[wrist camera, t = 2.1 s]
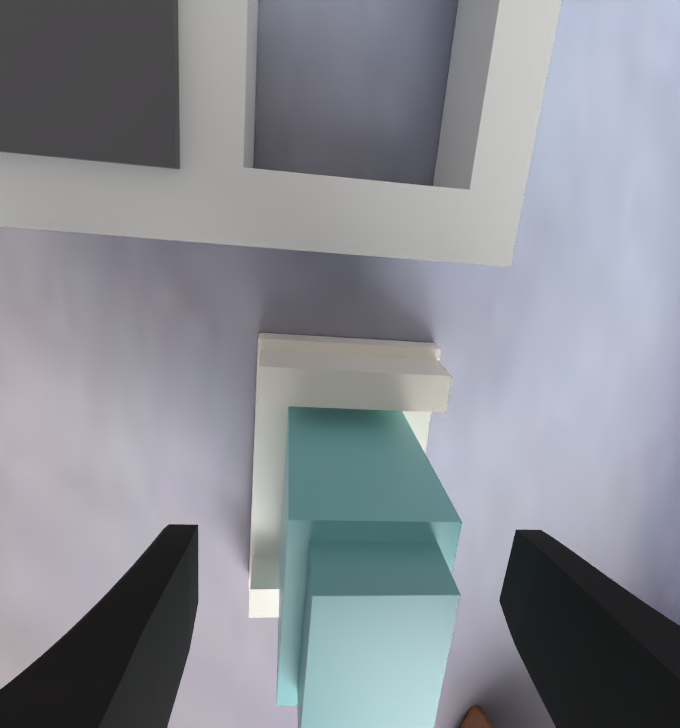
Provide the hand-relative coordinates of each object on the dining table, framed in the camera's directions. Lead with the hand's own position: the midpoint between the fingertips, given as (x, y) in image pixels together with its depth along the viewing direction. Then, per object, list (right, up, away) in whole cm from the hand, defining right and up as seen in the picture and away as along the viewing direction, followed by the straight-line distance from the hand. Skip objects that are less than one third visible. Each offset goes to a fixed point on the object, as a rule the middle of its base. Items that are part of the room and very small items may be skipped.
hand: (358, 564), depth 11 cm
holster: (-1, +1, +4) cm, 4 cm away
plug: (0, +1, +3) cm, 4 cm away
